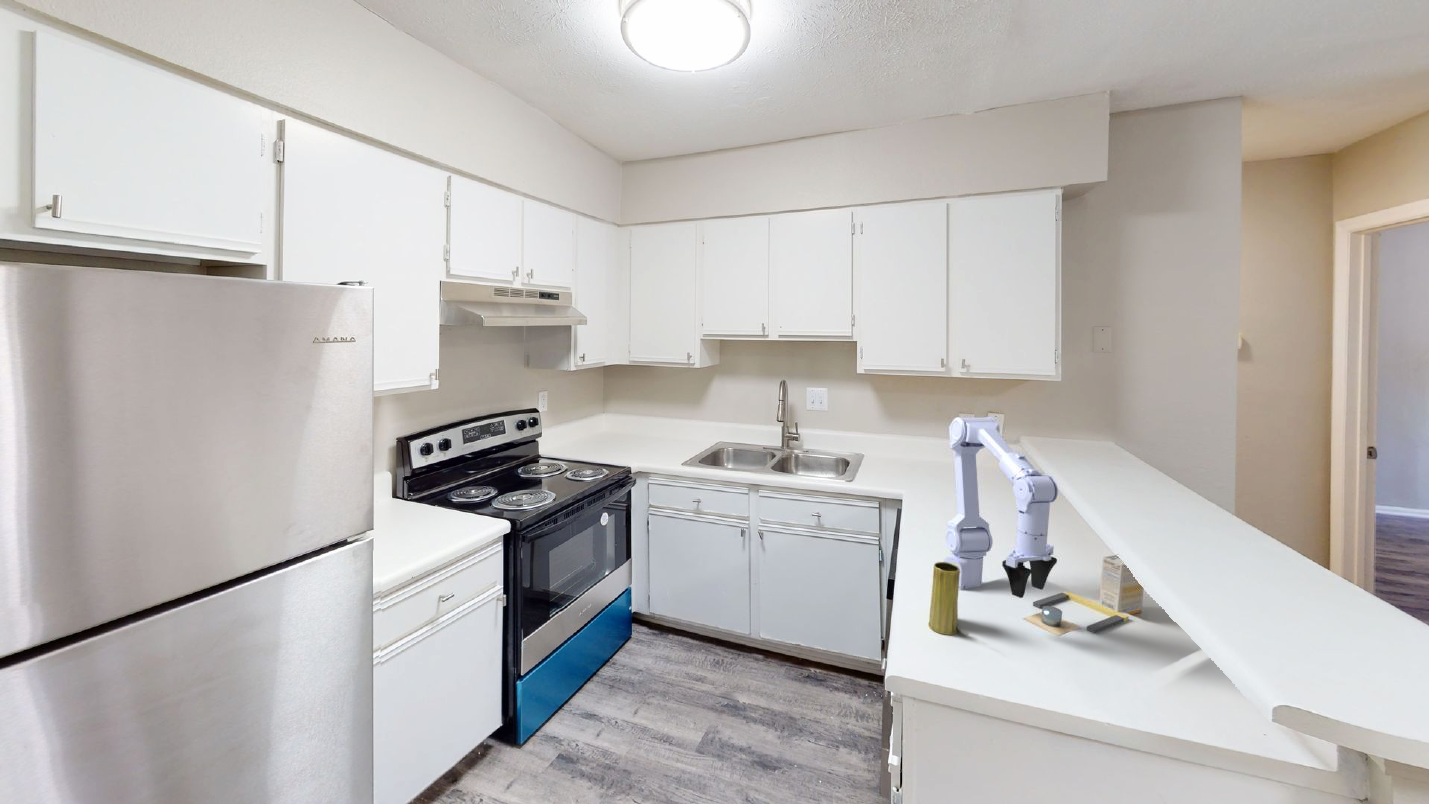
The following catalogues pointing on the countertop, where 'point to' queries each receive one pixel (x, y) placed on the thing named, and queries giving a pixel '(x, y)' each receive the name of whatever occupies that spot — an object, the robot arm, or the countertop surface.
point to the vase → (944, 598)
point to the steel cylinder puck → (1051, 616)
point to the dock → (1096, 627)
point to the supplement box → (1120, 587)
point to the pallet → (1056, 631)
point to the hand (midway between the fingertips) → (1027, 591)
